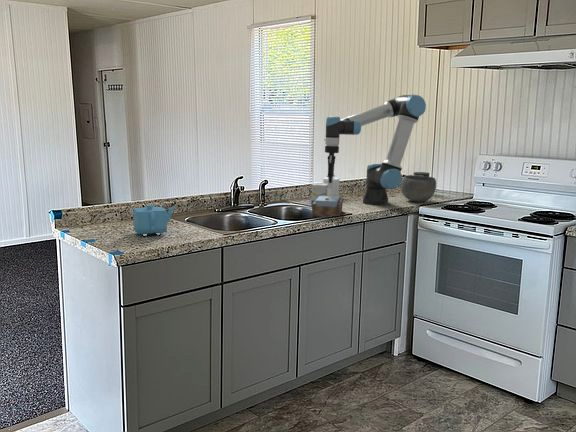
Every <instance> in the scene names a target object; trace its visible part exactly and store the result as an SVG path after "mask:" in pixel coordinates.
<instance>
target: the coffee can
mask: <svg viewBox="0 0 576 432" xmlns="http://www.w3.org/2000/svg"><path fill="white" fill-rule="evenodd" d="M412 175H417V176H425V177H430V172H424V171H415V172H413V174H412Z"/></svg>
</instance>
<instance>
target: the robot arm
mask: <svg viewBox="0 0 576 432" xmlns="http://www.w3.org/2000/svg"><path fill="white" fill-rule="evenodd" d="M426 109H427V104H426V100H425V99H424V97H422V96H421V95H418V94H403V95H399V96H397V97H394V98H392V99H390V100H387V101H385V102H384V104H380V105H378V106H375V107H372V108H369V109H367V110H364V111H362V112H361V111H360V112H357V113H355V114H353V115H349V116H347V117H345V118H341V117H340V116H327V117H326V120H325V139H324V143H325V144H324V145H325V147H324V152H325V153H327V154H328V156H327V175H326V177H328V189H333V178H336V176H335V173H334V172H335V163H336V156H335V154H339V152H340V146H339V145H340V136H341V135H347V136H348V135H350V136H351V135H353V136H354V135H356V136H358V135H360V133H361V132H362V127H364V126H366V125H369V124H371V123H374V122H377V121H380V120H383V119H386V118H389V119H390V118H391V119H392V118H394V117H397V118H398V122H397V125H396V128H395V131H394V133H393V137H392V140H391V144H390V146H389V149H388V152H387V154H386V158H385V160H383V161H381V163H372V164H371V163H370V164H368V165H367V167H366V181H365V182H366V185H365V187H366V188H365V192H364V194H363V197H362V203H364V204H366V205H367V204H368V205H379V204H380V205H387V203H388V204H389V196H388V193H387V190H394V189H396V188H398V187H399V186H400V185H401V184H402V180H403V175H402V169H403V167H402V165H401V164H402V162H403V161H402V160H403V157H404V155H405V151H406V149H407V145H408V142H409V140H410V136H411V133H412V131H413V128H414V125H415V124H416V123H418V121H419V118H420V117H421V116H422V115H423V114H424V113H425V112H426Z"/></svg>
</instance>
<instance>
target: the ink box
mask: <svg viewBox="0 0 576 432" xmlns="http://www.w3.org/2000/svg"><path fill="white" fill-rule="evenodd" d="M327 189H328V184H324V183H323V182H317V183H315V182H314V183H312V184H311V200H310V205H311V206H312V204H313V203H314V202H315V200H316V199H317V198H318V197H319V196H327Z"/></svg>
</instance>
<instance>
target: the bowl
mask: <svg viewBox="0 0 576 432" xmlns="http://www.w3.org/2000/svg"><path fill="white" fill-rule="evenodd" d="M400 185H401V186H400V187H401V190H400V191H401V193H402V195H403V196H404V198H406V199H407V200H409V201H412V202H416V203H417V202H419V203H420V202H422V203H423V202H427V201H429V200H430V199H432V197H433V196H434V194H435V192H436V189H437V179H436V178H435V177H433V176H429V177H425V176H417V175H414V174H409V175H408V174H407V175H404V177H402V181H401V183H400Z"/></svg>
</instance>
